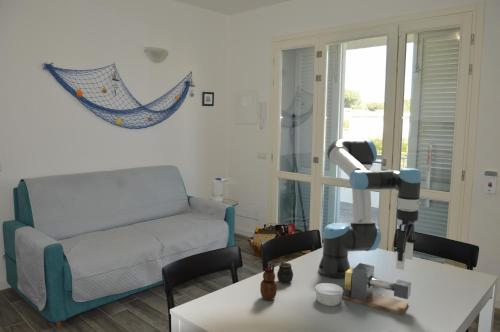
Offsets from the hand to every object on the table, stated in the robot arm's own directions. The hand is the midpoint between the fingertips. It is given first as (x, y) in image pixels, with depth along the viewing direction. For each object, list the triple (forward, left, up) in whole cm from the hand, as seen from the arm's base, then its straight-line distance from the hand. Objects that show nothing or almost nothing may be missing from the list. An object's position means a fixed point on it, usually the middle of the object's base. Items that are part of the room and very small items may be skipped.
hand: (404, 263), depth 150 cm
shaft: (-10, 0, -13) cm, 16 cm away
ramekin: (-26, -10, -19) cm, 33 cm away
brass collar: (-21, 0, -11) cm, 23 cm away
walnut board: (-12, 0, -18) cm, 22 cm away
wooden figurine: (-47, -23, -18) cm, 55 cm away
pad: (-21, 0, -17) cm, 27 cm away
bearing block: (-16, 0, -17) cm, 23 cm away
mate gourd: (-50, -4, -18) cm, 53 cm away
